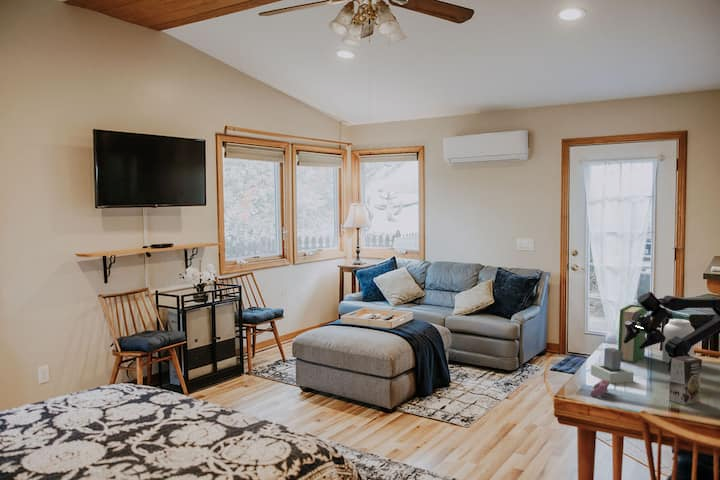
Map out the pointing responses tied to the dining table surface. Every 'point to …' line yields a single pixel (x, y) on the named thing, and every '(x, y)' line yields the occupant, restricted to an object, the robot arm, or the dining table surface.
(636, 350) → the hardback book
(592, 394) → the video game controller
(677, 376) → the coffee box
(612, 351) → the gray rectangular block
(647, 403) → the dining table surface
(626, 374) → the well block
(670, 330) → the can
